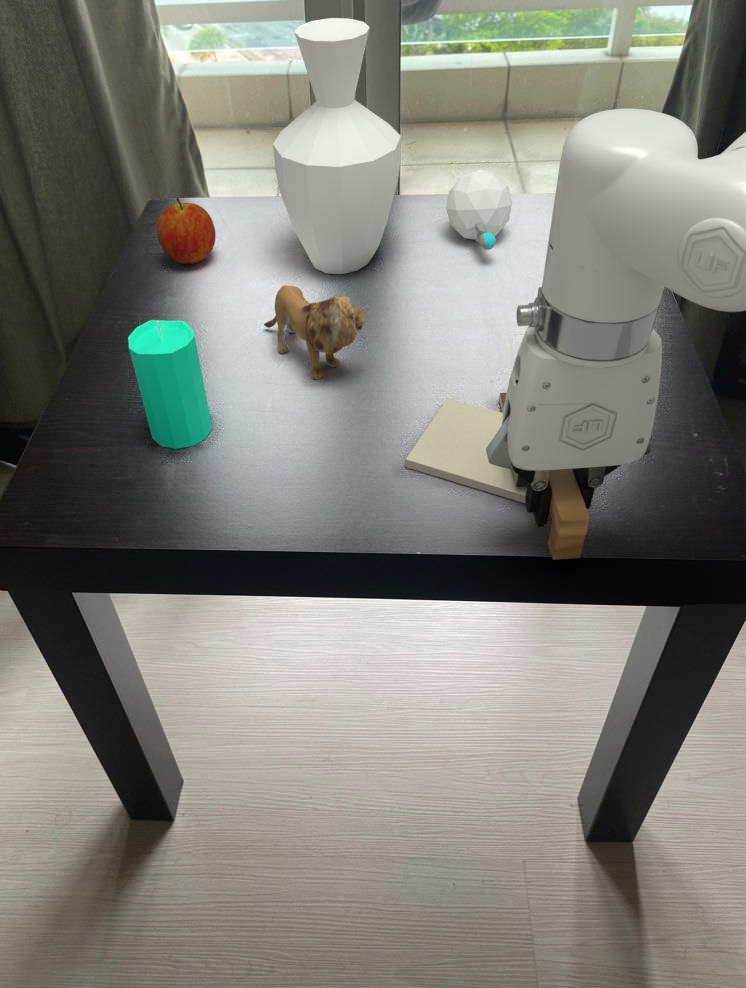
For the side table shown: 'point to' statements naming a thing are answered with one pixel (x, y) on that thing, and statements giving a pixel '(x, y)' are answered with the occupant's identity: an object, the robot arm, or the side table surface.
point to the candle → (170, 382)
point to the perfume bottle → (479, 206)
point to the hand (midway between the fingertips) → (555, 512)
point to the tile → (464, 450)
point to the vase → (337, 154)
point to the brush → (564, 514)
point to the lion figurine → (316, 324)
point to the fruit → (186, 232)
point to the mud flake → (502, 400)
